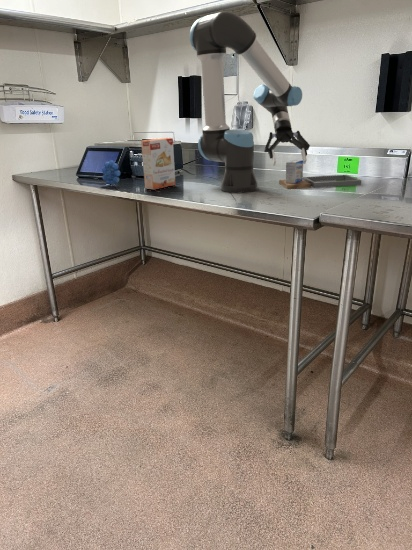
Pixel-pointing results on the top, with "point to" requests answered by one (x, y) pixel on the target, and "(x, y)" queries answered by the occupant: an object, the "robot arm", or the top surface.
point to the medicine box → (294, 171)
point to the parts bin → (349, 182)
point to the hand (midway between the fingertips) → (289, 162)
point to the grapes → (111, 172)
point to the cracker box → (158, 163)
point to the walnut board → (297, 185)
